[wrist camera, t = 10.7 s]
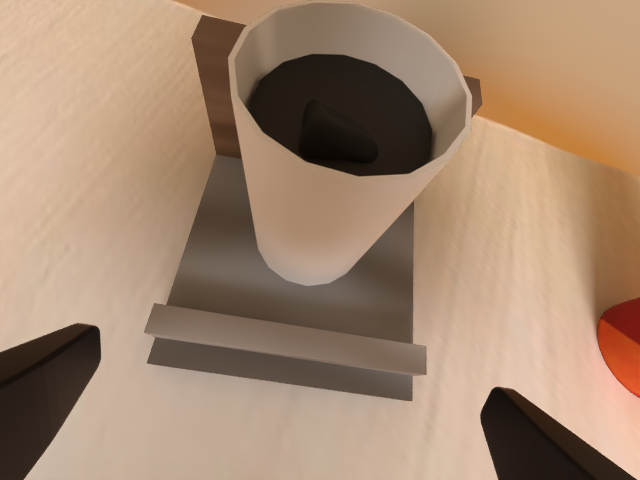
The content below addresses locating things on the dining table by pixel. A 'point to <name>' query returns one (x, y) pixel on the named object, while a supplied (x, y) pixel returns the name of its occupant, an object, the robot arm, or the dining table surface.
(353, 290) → the holder
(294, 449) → the dining table surface
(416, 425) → the dining table surface
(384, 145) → the white cup
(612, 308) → the paper cup
